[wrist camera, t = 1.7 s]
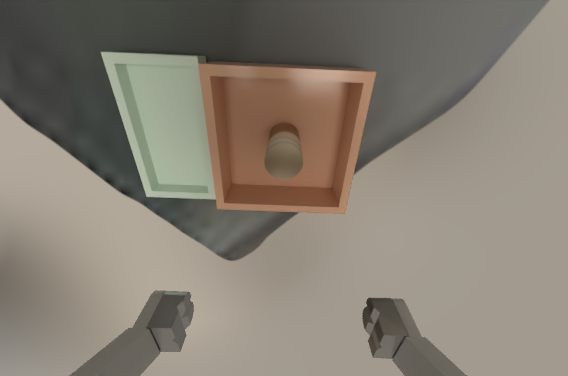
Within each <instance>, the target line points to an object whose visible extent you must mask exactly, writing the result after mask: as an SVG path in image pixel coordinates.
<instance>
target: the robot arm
mask: <svg viewBox="0 0 568 376" xmlns="http://www.w3.org/2000/svg"><path fill="white" fill-rule="evenodd" d="M190 298H191V294H190V292H177V291H154V292H153V293H152V294H151V296H150V297H149V299H148V301H147V303H146V305H145V306H144V308H143V310H142V312H141V313H140V315H139V317H138V319H137V321H136V322H135V324H134V326H133V328H128V329H127V330H126V331H124V332H123V333H122V334H121V335H119V336H118V337H117V338H116V339H115V340H113V341H112V342H111V343H109V344H108V345H107V346H106V347H105V348H103V349H102V350H101V351H100V352H98V353H97V354H96V355H95V356H93V357H92V358H91V359H90V360H88V361H87V362H86V363H85V364H83V365H82V366H81V367H80V368H78V369H77V370H76V371H75V372H74V373H72V374H71V375H70V376H140V375H141V374H142V373H143V372H144V371H145V370H146V368H147V367H148V366H149V365H150V364H151V363H152V362H153V361H154V360H155V358H156V357H157V356H158V355H159V354H160V352H180V351H181V348H182V346H183V343H184V340H185V337H186V333H185V329H186V328H187V327H188V326H189V325H190V323H191V320H192V317H193V312H194V306H193V302H191V301H190ZM366 304H367V307H365V308H364V310H363V325H364V328H365V331H366V332H367V333H368V334H369V335H370V337H369V340H368V342H369V346H370V349H371V353H372V356H373V358H387V359H393V361H394V363H395V364H396V365H397V367H398V368H399V369H400V370H401V372H402V373H403V374H404V376H466V375H465V374H464V373H463V372H462V371H461V370H460V369H459V368H458V367H457V366H456V365H455V364H453V363H452V362H451V361H450V360H449V359H448V358H447V357H446V356H445V355H444V354H443V353H442V352H441V351H439V350H438V349H437V348H436V347H435V346H434V345H433V344H432V343H431V342H430V341H429V340H428V339H426V338H425V337H422V336H421V334H420V332H419V330H418V328H417V326H416V324H415V322H414V320H413V318H412V316H411V314H410V312H409V309H408V307H407V306H406V303H405V302H404V300H403V299H390V298H368V299H367V302H366Z"/></svg>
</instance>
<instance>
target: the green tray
mask: <svg viewBox="0 0 568 376" xmlns="http://www.w3.org/2000/svg"><path fill="white" fill-rule="evenodd" d="M101 54H102V58H103V61H104V64H105V67H106V70H107V73H108V76H109V80H110V83H111V86H112V89H113V92H114V95H115V98H116V102H117V105H118V108H119V111H120V114H121V117H122V121H123V124H124V127H125V130H126V133H127V136H128V139H129V143H130V146H131V149H132V152H133V155H134V158H135V161H136V165H137V168H138V171H139V174H140V177H141V180H142V183H143V187H144V190H145V193H146V196H147V197H168V198H194V199H216V195H215V187H214V180H213V172H212V165H211V157H210V150H209V143H208V135H207V128H206V120H205V113H204V105H203V98H202V90H201V83H200V75H199V68H198V64H200V63H206V56H197V55H176V54H155V53H134V52H101Z"/></svg>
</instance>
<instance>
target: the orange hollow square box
mask: <svg viewBox="0 0 568 376" xmlns="http://www.w3.org/2000/svg"><path fill="white" fill-rule="evenodd" d="M198 68H199V75H200V83H201V90H202V98H203V105H204V113H205V120H206V128H207V135H208V143H209V150H210V157H211V165H212V172H213V180H214V187H215V195H216V202H217V209H228V210H255V211H281V212H307V213H334V214H336V213H337V214H345V211H346V206H347V202H348V197H349V193H350V188H351V184H352V179H353V175H354V170H355V166H356V161H357V157H358V152H359V148H360V143H361V139H362V134H363V130H364V125H365V121H366V116H367V112H368V107H369V103H370V98H371V94H372V89H373V85H374V80H375V76H376V72H374V71H370V70H366V69H361V68H349V67H328V66H306V65H285V64H264V63H242V62H221V61H213V62H206V63H200V64H198ZM282 122H286V123H290V124H292V125H294V126H295V127H296V128H297V130H298V132H299V137H300V144H301V150H302V157H303V166H302V169H301V171H300V172H299V173H298V174H297V175H296V176H295V177H293V178H291V179H286V180H281V179H277V178H275V177H273V176H271V175H270V174H269V173H268V172H267V170H266V168H265V164H264V159H265V154H266V149H267V144H268V139H269V134H270V131H271V129H272V128H273V127H274V126H275V125H276V124H278V123H282Z"/></svg>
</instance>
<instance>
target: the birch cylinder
mask: <svg viewBox="0 0 568 376" xmlns="http://www.w3.org/2000/svg"><path fill="white" fill-rule="evenodd" d="M264 164H265V168H266V170H267V172H268V173H269V174H270V175H271V176H273V177H275V178H277V179H281V180H286V179H291V178H293V177H295V176H296V175H297V174H298V173H299V172H300V171H301V169H302V166H303V157H302V150H301V144H300V137H299V132H298V130H297V128H296V127H295V126H294V125H292V124H290V123H286V122H282V123H278V124H276V125H275V126H274V127H273V128H272V129H271V131H270V134H269V139H268V144H267V149H266V154H265V159H264Z"/></svg>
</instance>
